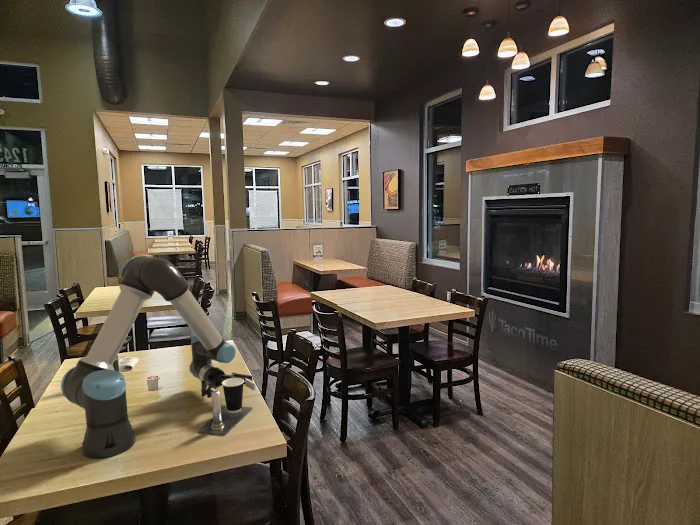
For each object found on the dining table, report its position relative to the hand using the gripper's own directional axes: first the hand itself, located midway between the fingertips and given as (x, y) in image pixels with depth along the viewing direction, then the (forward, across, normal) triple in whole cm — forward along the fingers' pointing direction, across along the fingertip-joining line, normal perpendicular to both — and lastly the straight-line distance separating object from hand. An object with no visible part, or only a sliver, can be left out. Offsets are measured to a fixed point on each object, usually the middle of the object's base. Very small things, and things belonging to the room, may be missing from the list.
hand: (237, 392), depth 165 cm
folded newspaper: (-87, +18, -10) cm, 89 cm away
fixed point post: (+4, +10, -9) cm, 14 cm away
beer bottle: (-67, +27, -9) cm, 73 cm away
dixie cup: (-3, 0, -8) cm, 9 cm away
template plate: (0, +5, -9) cm, 10 cm away
